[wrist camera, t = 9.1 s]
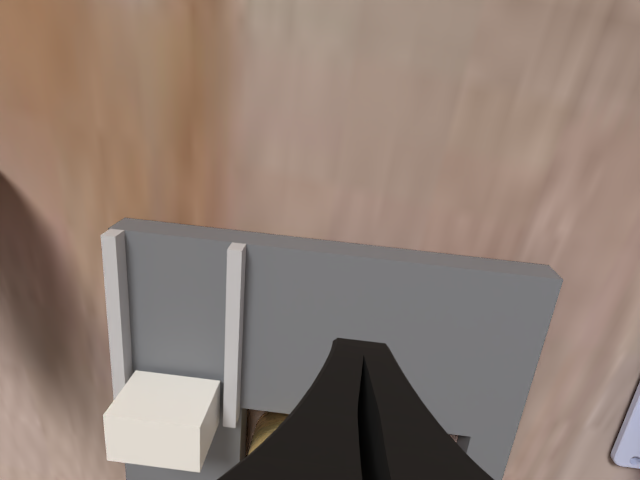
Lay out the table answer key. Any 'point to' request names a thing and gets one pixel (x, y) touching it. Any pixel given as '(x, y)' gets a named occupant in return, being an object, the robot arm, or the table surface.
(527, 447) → the table surface
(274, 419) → the brass button
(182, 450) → the white block
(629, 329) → the table surface
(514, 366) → the control panel
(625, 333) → the table surface
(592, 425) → the table surface
